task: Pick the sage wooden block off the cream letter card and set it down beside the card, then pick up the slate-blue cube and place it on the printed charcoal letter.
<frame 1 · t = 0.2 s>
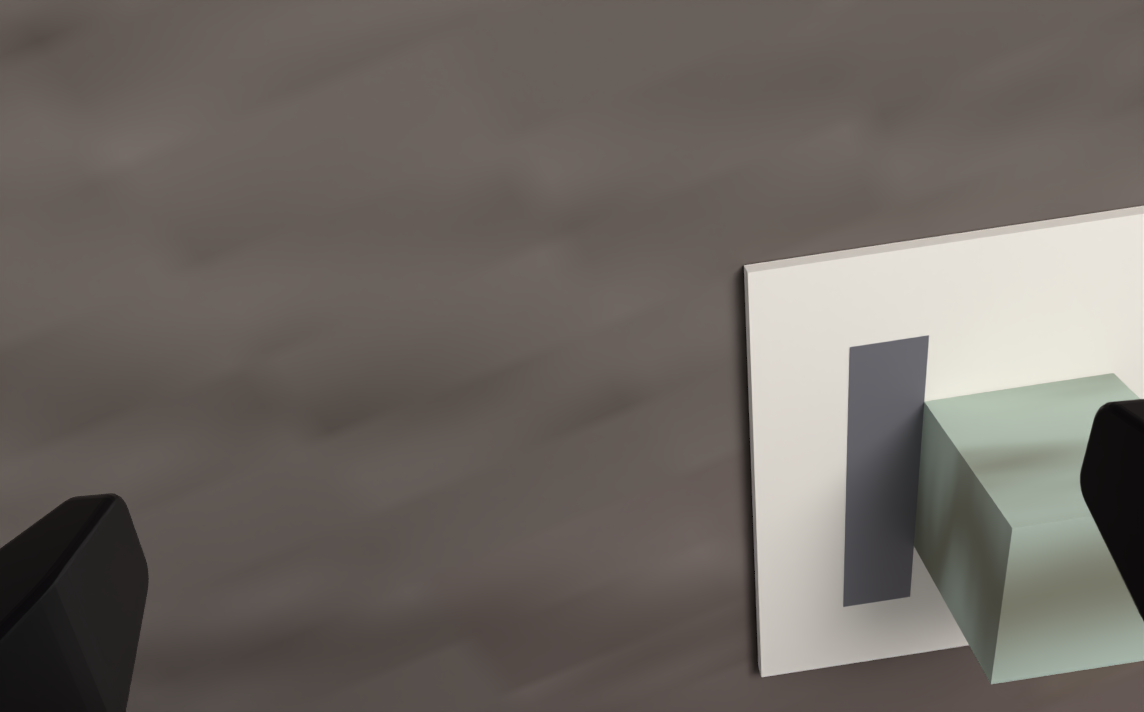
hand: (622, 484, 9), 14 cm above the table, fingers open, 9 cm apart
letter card: (1002, 454, 28), on the table
sage block: (1009, 463, 28), resting on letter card
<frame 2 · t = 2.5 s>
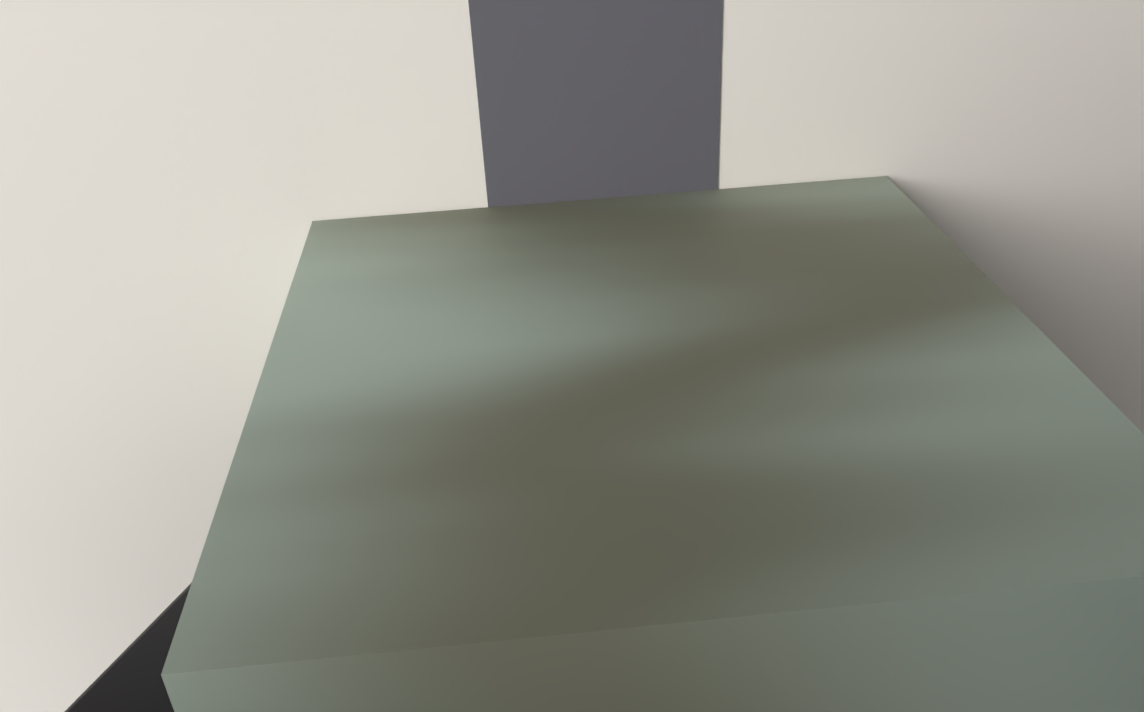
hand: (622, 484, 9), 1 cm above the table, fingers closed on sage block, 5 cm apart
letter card: (606, 411, 10), on the table
sage block: (611, 434, 10), resting on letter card, touching gripper
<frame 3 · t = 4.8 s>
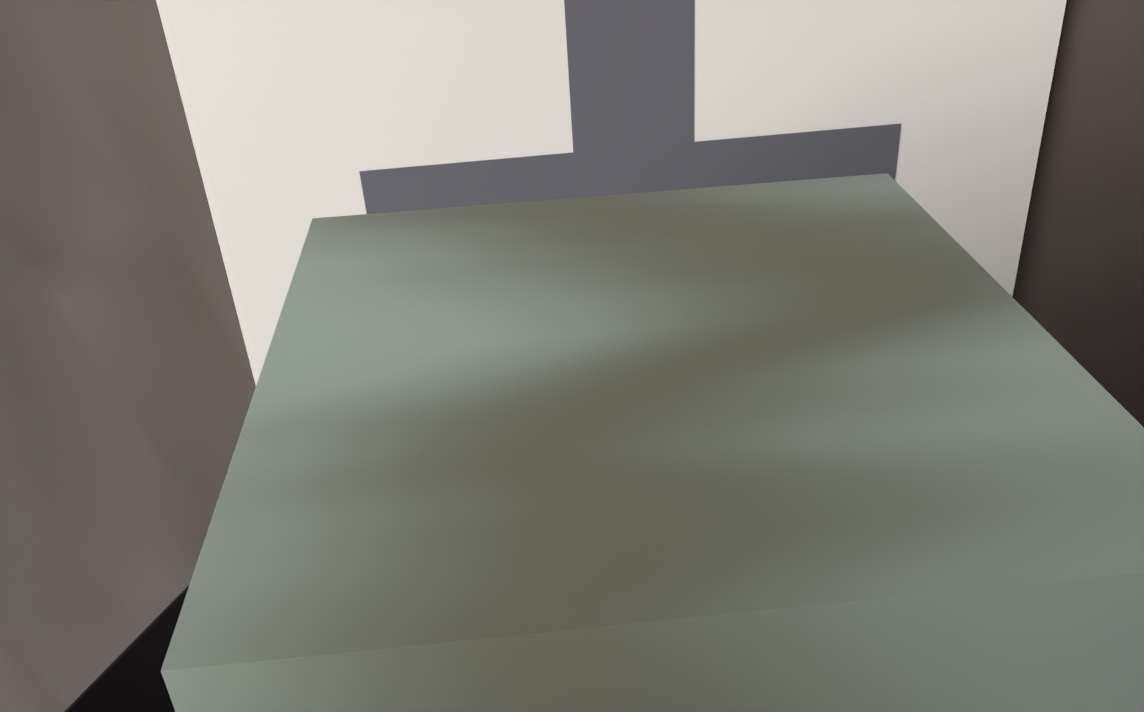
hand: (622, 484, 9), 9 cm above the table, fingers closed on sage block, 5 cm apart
sage block: (612, 432, 10), point 8 cm above the table, touching gripper
when the fingers open (2 cm above the table, at t = 7.1 s): sage block drops 1 cm, on the table.
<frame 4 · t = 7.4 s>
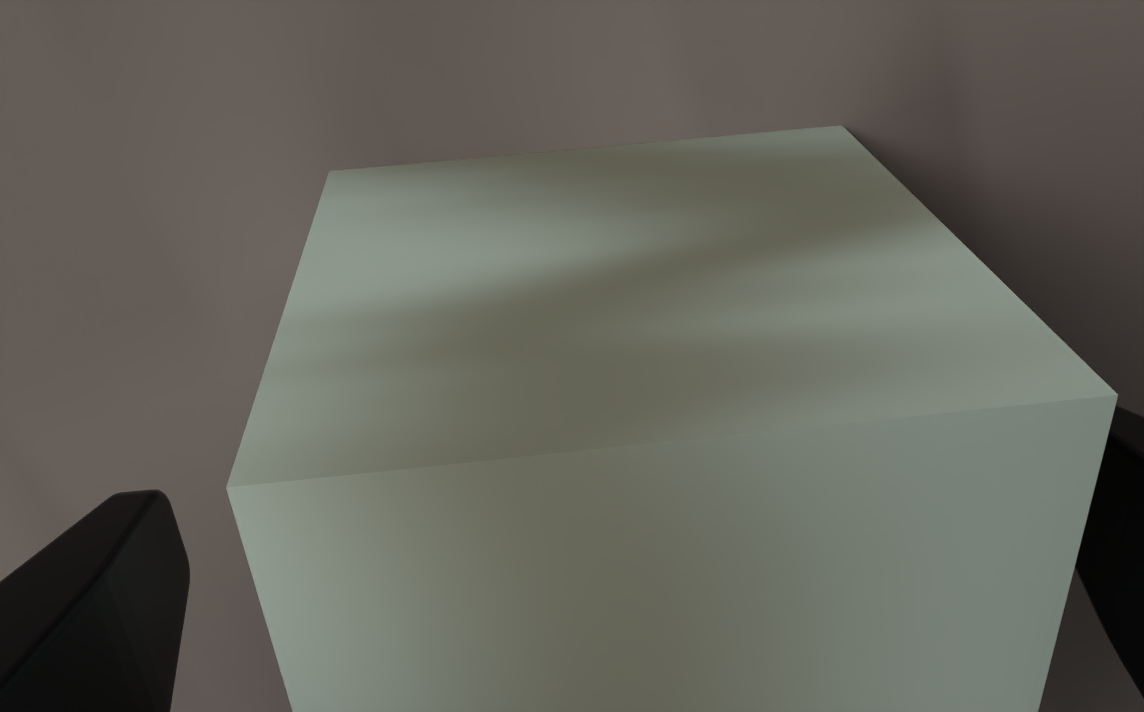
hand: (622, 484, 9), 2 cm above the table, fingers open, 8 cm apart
sage block: (599, 364, 11), on the table
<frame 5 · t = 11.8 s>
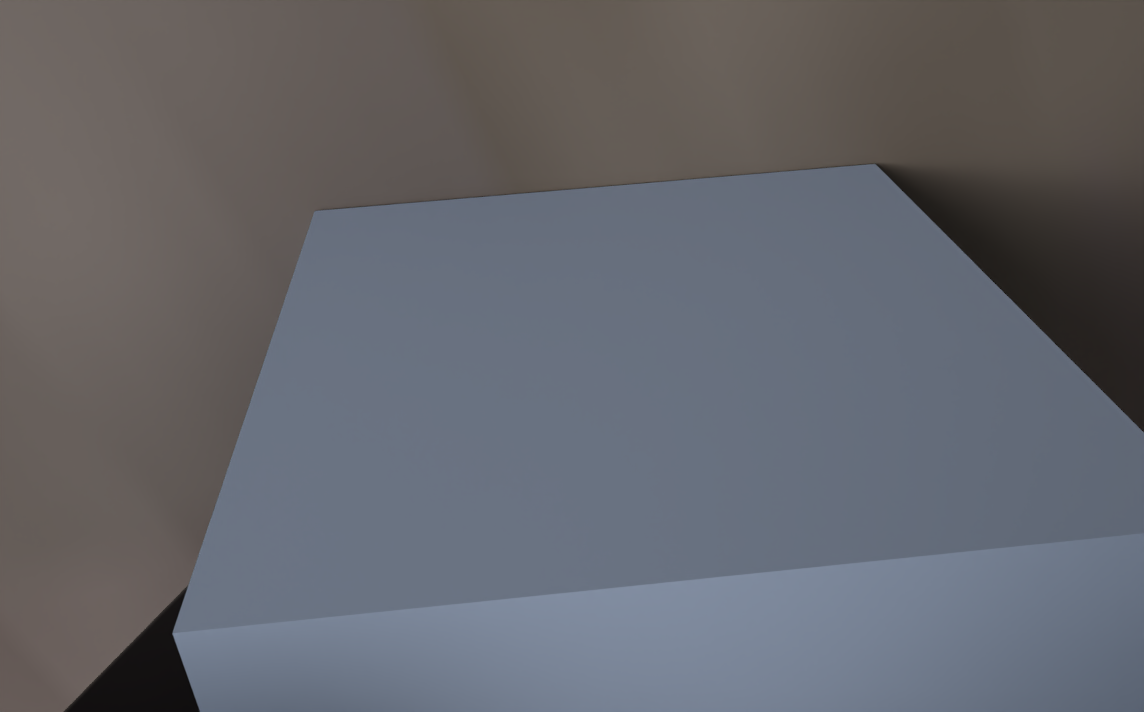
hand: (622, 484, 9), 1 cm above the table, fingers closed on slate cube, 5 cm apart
slate cube: (608, 420, 10), on the table, touching gripper
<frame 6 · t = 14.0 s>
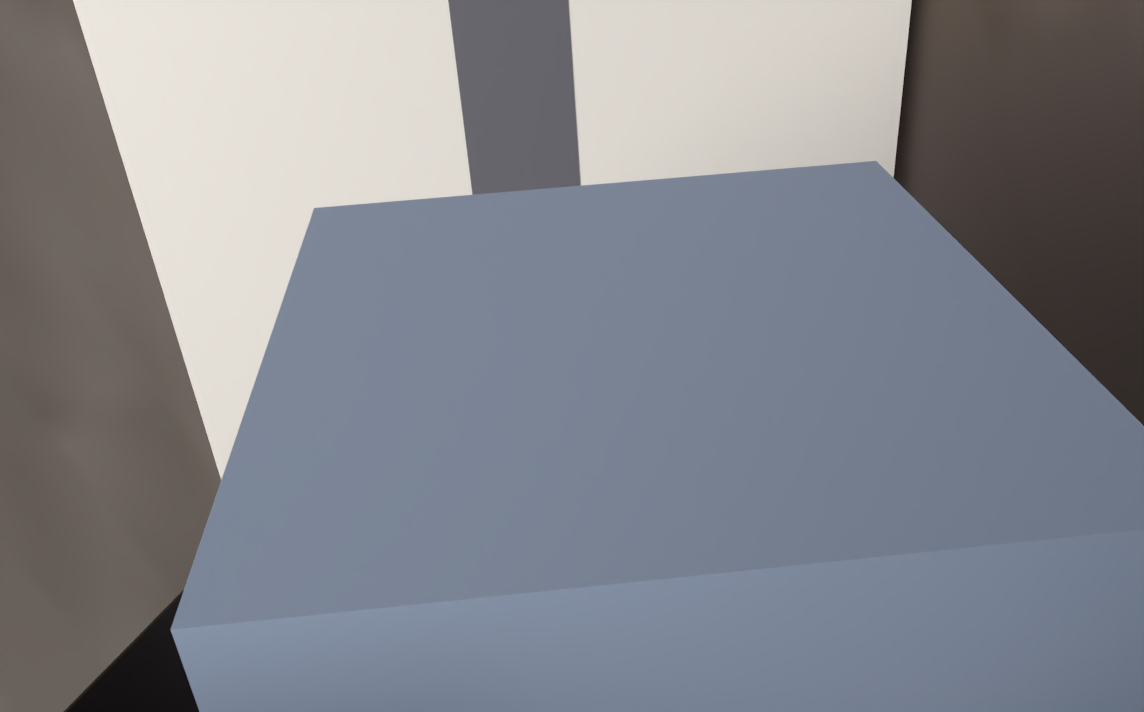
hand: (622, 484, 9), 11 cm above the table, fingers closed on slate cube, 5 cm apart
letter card: (526, 195, 19), on the table
slate cube: (609, 418, 10), point 10 cm above the table, touching gripper
when the fingers open (3 cm above the table, at t = 16.6 s): slate cube drops 1 cm, resting on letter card.
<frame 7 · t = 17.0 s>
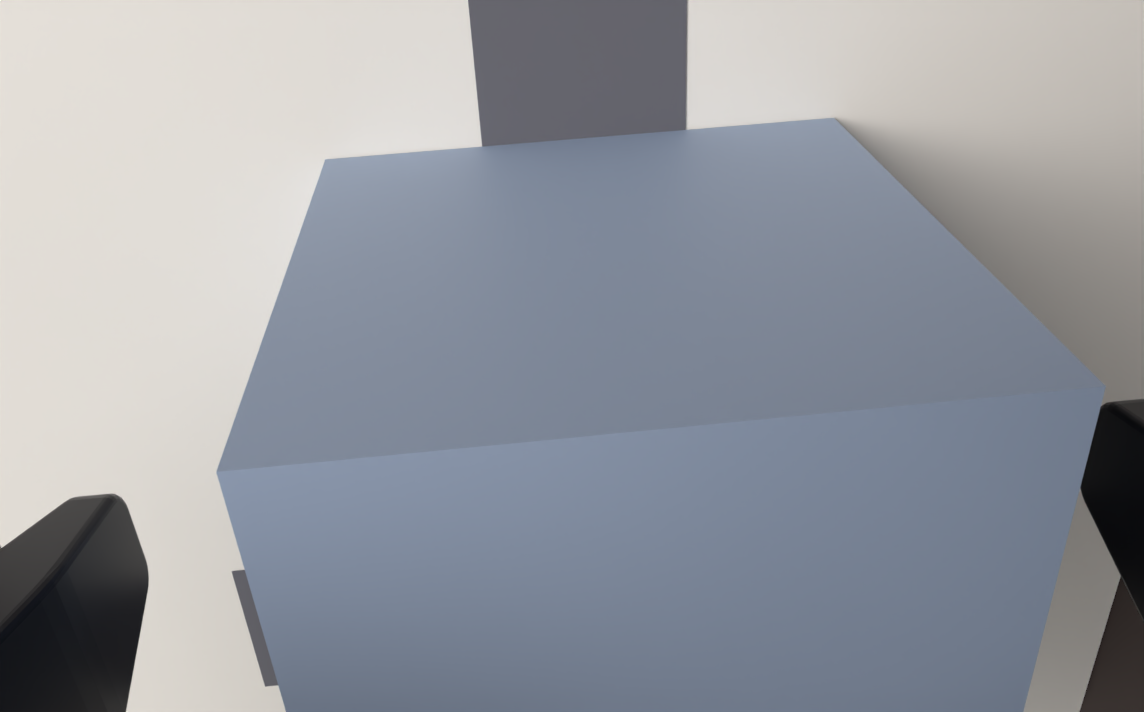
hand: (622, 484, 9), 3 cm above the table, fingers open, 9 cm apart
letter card: (590, 344, 12), on the table
slate cube: (593, 357, 11), resting on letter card
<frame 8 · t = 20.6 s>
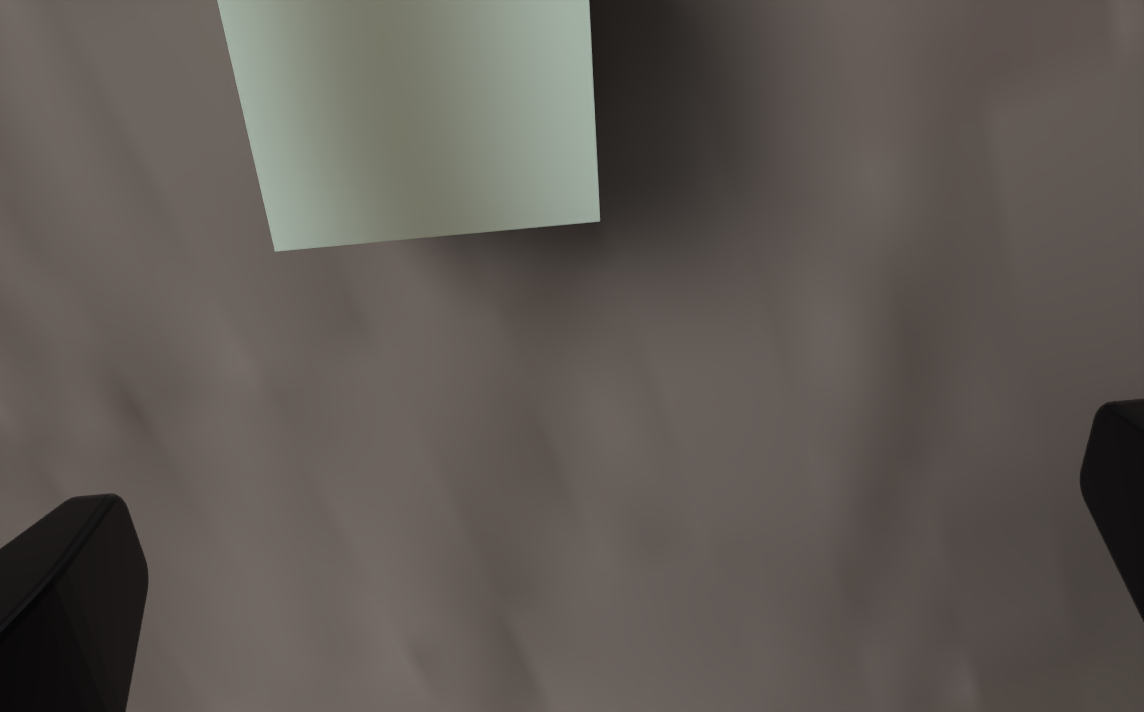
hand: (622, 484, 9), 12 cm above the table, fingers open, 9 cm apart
sage block: (427, 0, 19), on the table
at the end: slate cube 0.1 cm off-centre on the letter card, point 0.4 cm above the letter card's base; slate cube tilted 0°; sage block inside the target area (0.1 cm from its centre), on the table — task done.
